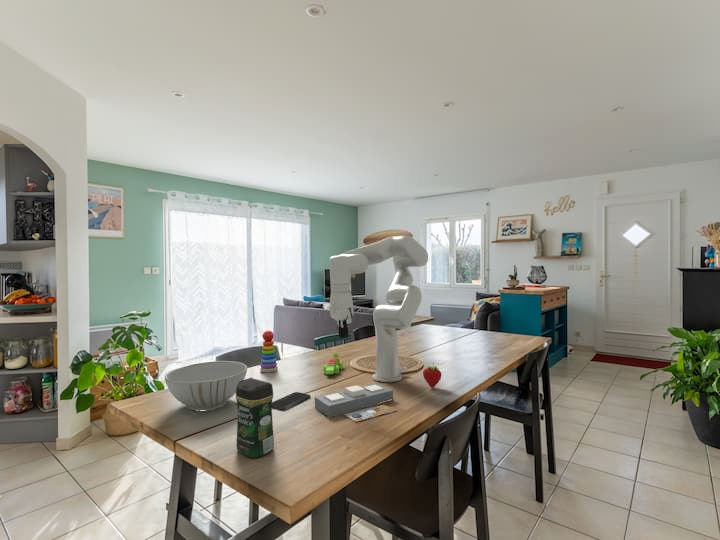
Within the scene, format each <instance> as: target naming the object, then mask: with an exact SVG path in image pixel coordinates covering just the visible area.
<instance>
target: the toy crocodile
mask: <svg viewBox="0 0 720 540" xmlns="http://www.w3.org/2000/svg"><path fill="white" fill-rule="evenodd" d="M343 364H344V363H343V361H342V360H340V357H339V354H338V353H334V354H332V358H331V359H330V360H329V361H328V363H327V364H325V365H324V366H323V374H325V375H334V374H336V375H337V374H338V373H339V374H340V370H343V368H344V367H343V366H344V365H343ZM339 374H338V375H339Z"/></svg>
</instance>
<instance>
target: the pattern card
mask: <svg viewBox="0 0 720 540" xmlns="http://www.w3.org/2000/svg"><path fill="white" fill-rule="evenodd" d="M373 407H374V406H369V407H366V408H362V409H358V410H354V411H350V412H347V413H344V416H345V415H346V416H345V417H347V416H348V417H349V418H348V417H347V418H348V419H350V418H351V419H352V420H351V419H350V420H351V421H353V420H356V419H358V418H361V417H362V419H365V418H368V417H370V416H372V417H373V414H375V413H376V411H374V410H373ZM374 409H375V408H374ZM367 415H368V416H367Z"/></svg>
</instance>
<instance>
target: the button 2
mask: <svg viewBox="0 0 720 540" xmlns="http://www.w3.org/2000/svg"><path fill="white" fill-rule="evenodd" d="M364 389H365V390H367V391H369V392H371V393H373V392H377V391H381V390H383V388H382V387H379V386H377V385H371V386H367V387H364Z"/></svg>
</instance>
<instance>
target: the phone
mask: <svg viewBox="0 0 720 540" xmlns="http://www.w3.org/2000/svg"><path fill="white" fill-rule="evenodd" d="M309 399H311V394H307V393H304V392H298V391H294V392H292V393H290V394H288V395H285V396H283V397H280V398H279V399H276V400H274V401H272V410H274V409H275V410H279V411H287V410H290V409H291V408H293V407H295V406H297V405H299V404H301V403H303V402H305V401H307V400H309Z"/></svg>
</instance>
